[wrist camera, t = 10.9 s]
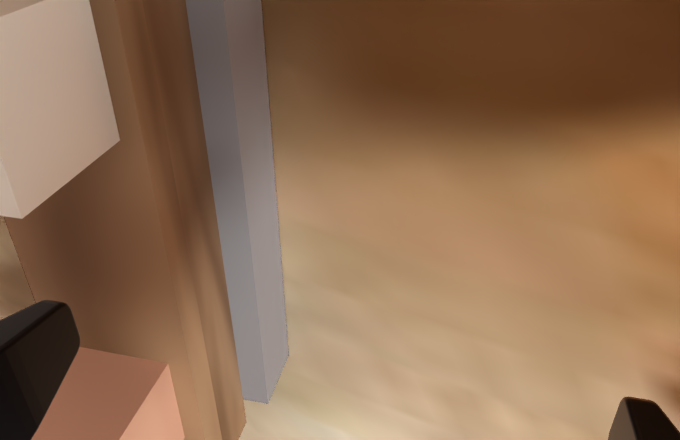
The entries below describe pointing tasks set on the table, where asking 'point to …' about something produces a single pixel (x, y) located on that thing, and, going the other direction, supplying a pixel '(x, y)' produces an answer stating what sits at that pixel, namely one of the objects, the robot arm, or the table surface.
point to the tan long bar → (145, 224)
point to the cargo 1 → (49, 100)
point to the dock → (243, 181)
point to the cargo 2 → (113, 401)
